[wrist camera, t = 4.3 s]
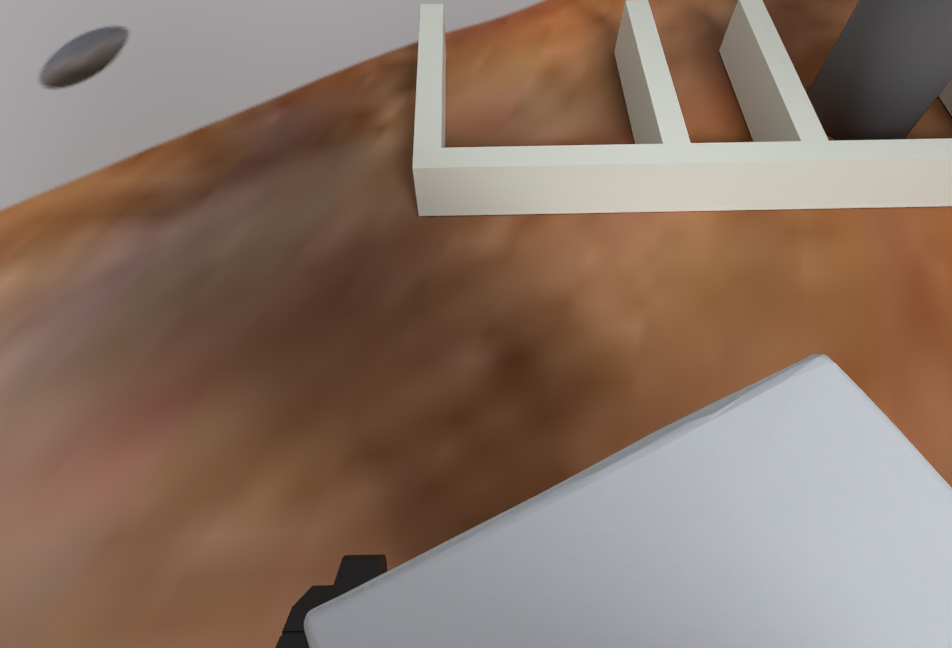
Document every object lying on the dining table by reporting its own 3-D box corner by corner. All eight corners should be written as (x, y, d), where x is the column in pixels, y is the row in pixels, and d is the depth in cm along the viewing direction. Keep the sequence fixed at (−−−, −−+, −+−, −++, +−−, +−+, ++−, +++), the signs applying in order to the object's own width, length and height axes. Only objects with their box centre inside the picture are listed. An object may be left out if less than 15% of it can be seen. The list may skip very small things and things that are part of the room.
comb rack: (927, 46, 28) (964, -6, 26) (1034, 204, 23) (1092, 155, 21) (425, 55, 28) (420, 3, 26) (418, 216, 23) (412, 168, 21)
